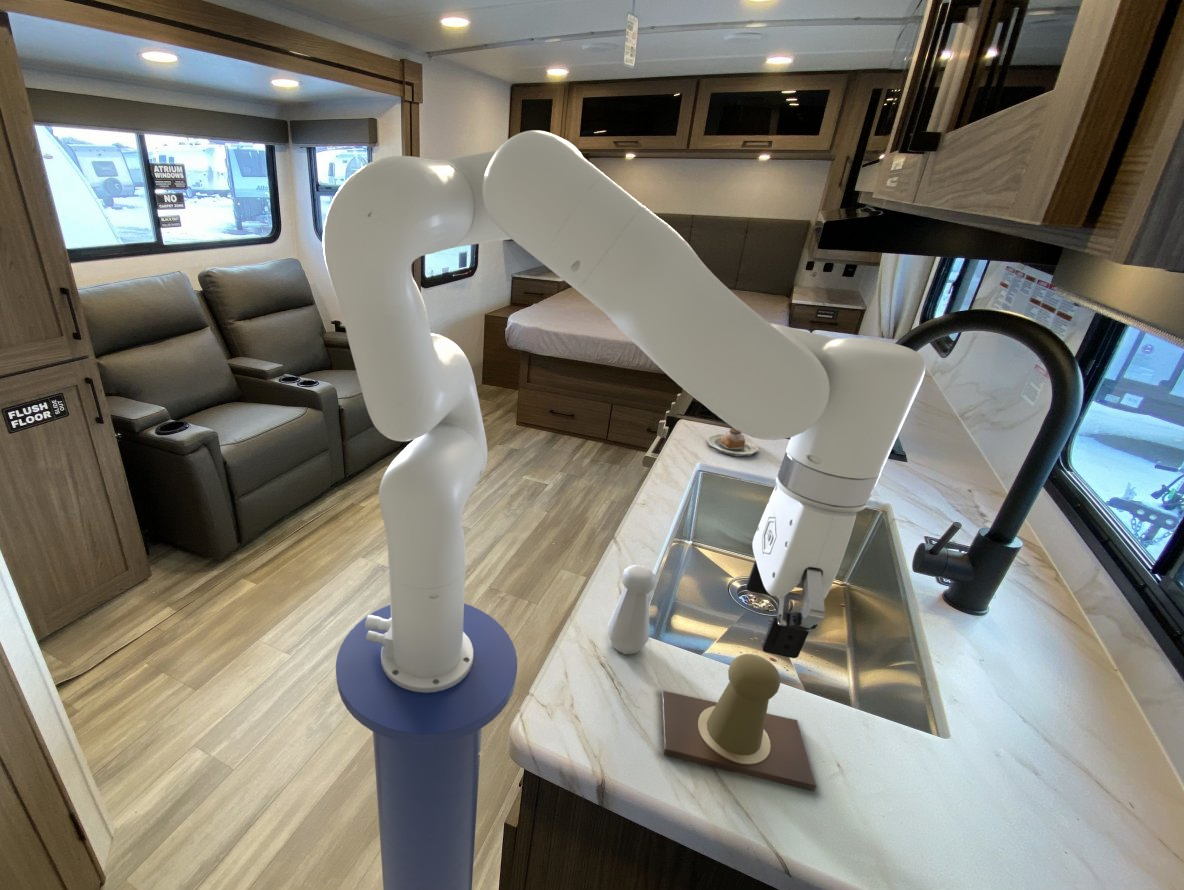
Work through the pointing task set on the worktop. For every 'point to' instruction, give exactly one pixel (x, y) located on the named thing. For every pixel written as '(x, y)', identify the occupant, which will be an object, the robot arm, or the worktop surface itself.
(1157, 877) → the worktop surface
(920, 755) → the worktop surface
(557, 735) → the worktop surface
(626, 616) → the salt shaker
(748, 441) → the pastry
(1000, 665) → the worktop surface
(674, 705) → the serving board
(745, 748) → the pepper shaker
